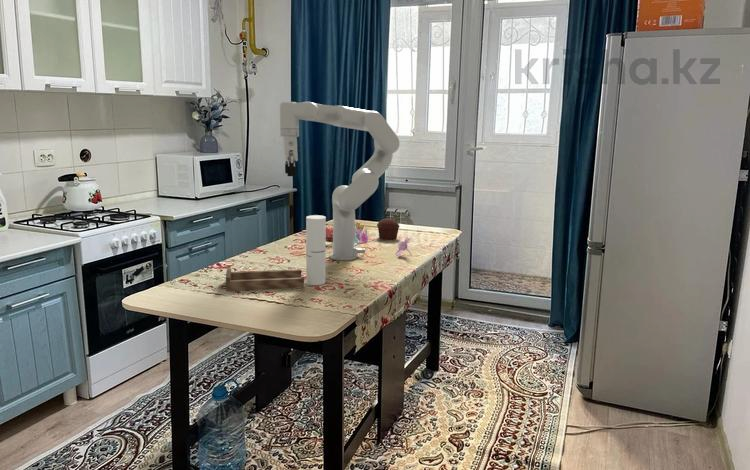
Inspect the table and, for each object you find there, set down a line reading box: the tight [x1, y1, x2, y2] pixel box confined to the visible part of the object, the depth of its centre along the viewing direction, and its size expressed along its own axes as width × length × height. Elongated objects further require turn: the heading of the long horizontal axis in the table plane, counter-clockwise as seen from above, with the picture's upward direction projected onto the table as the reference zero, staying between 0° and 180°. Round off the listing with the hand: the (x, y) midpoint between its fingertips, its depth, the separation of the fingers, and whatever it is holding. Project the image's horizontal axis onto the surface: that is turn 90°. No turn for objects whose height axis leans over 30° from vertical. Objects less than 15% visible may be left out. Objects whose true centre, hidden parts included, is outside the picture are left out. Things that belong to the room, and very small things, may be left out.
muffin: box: [376, 217, 400, 241], centre depth 284 cm, size 12×11×10 cm
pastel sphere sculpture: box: [326, 221, 369, 248], centre depth 277 cm, size 25×24×9 cm
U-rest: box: [225, 267, 305, 292], centre depth 208 cm, size 28×12×5 cm, turn 102°
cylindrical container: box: [305, 214, 327, 286], centre depth 209 cm, size 7×7×25 cm
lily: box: [395, 236, 412, 259], centre depth 252 cm, size 11×11×9 cm
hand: (290, 174), depth 234 cm, fingers open, 9 cm apart
